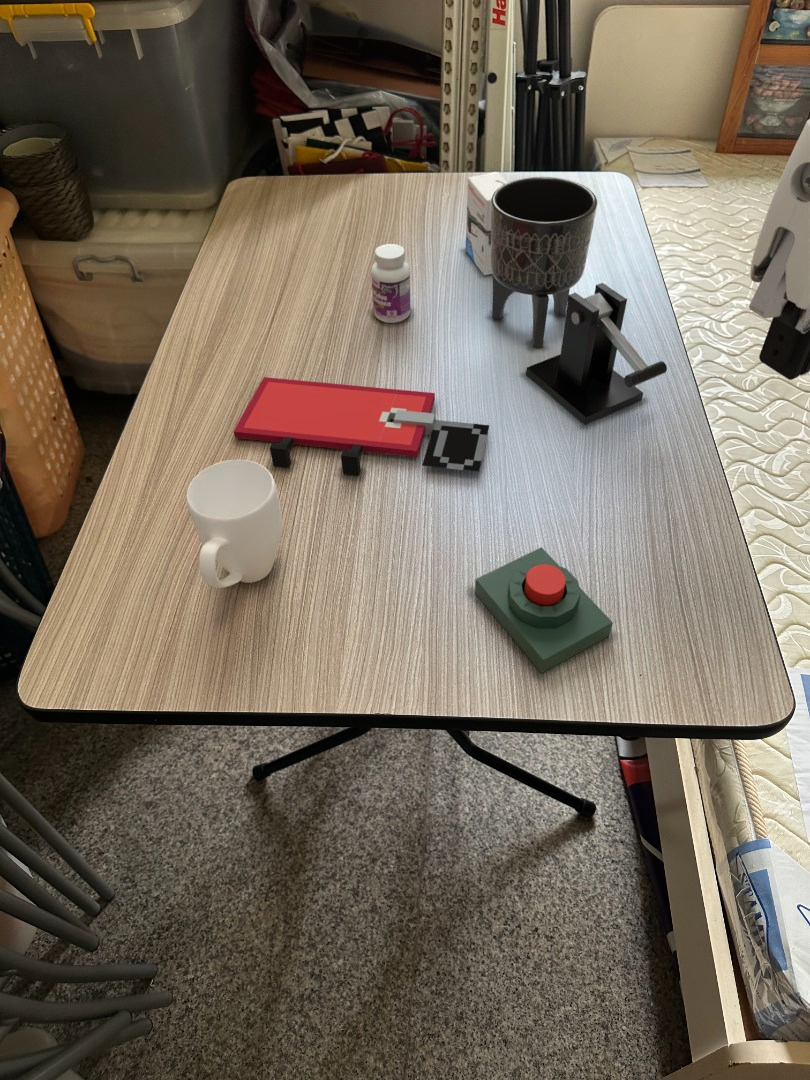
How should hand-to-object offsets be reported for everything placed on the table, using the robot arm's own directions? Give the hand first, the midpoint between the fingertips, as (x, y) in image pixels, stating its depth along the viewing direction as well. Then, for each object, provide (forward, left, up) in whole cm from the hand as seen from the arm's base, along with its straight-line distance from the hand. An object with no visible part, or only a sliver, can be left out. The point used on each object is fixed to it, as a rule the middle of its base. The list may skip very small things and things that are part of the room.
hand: (782, 366), depth 57 cm
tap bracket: (+32, -12, -27) cm, 44 cm away
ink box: (+65, -20, -27) cm, 73 cm away
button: (+6, +14, -23) cm, 28 cm away
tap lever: (+28, -12, -19) cm, 36 cm away
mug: (+25, +37, -27) cm, 52 cm away
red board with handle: (+39, +16, -27) cm, 50 cm away
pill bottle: (+60, 0, -27) cm, 66 cm away
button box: (+6, +14, -27) cm, 31 cm away
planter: (+47, -15, -27) cm, 56 cm away
